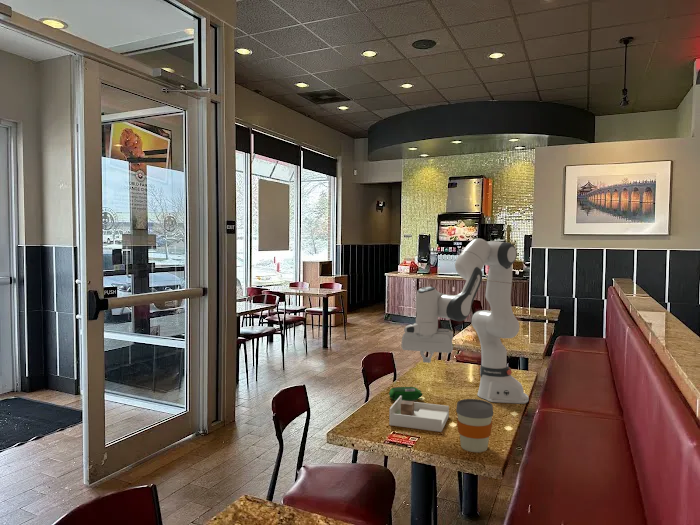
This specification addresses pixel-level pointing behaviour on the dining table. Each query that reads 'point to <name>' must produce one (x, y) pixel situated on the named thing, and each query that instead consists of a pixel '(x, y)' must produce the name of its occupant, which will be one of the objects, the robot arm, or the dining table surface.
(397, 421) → the box
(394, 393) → the snack package
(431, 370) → the dining table surface
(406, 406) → the walnut cube
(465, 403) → the reusable coffee cup
